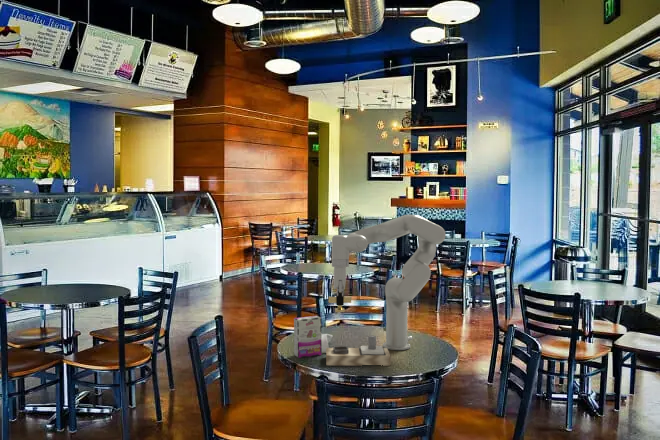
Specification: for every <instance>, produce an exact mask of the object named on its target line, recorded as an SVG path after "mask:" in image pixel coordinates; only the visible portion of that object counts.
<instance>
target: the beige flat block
mask: <svg viewBox="0 0 660 440" xmlns="http://www.w3.org/2000/svg"><path fill="white" fill-rule="evenodd" d="M382 348H383V350H384V354H362V353H361V347H349V346H345V345H339V346H337V345H335V346H334V345H333V347H329V348H326V353H325V356H326V357H325V359H326V360H325V361H326V363H325V364H326V366H362V365H381V366H382V365H383V367H385V366H387V367H390V366H391V353H390V350H389V349H387V348H384V347H382Z"/></svg>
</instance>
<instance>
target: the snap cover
mask: <svg viewBox="0 0 660 440" xmlns="http://www.w3.org/2000/svg"><path fill="white" fill-rule="evenodd" d="M367 339H368V340H367V341H368V342H367V345H360V348H361V353H362V354H384V350H383V348H384V347H383V345H377V336H376V335H369V336H367Z"/></svg>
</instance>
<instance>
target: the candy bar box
mask: <svg viewBox="0 0 660 440" xmlns="http://www.w3.org/2000/svg"><path fill="white" fill-rule="evenodd" d="M293 334H294V335H293V336H294V337H293V341H294V342H293V344H294V345H293V346H294V349H293V351H294V353H293V354H294V356H295V357H296V358H297V359H299V358H300V359H301V358H308V357H317V356H322V354H323V353H322V342H321V334H322V317H320V316H319V315H313V316H304V317H294V318H293Z"/></svg>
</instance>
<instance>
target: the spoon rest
mask: <svg viewBox="0 0 660 440" xmlns="http://www.w3.org/2000/svg"><path fill="white" fill-rule="evenodd" d="M332 339H333V334H329V333H321V342H322V354H326V348H330V347H329V343H330V342H331V340H332Z"/></svg>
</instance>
